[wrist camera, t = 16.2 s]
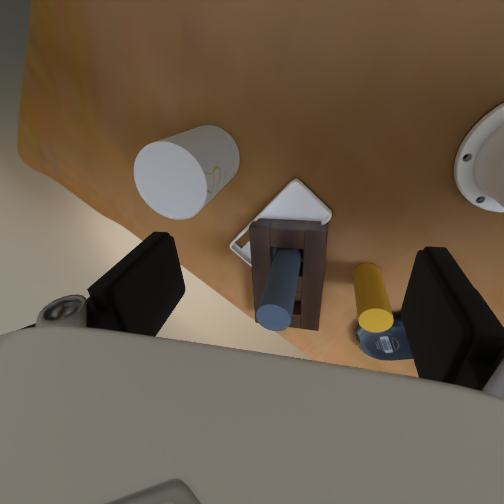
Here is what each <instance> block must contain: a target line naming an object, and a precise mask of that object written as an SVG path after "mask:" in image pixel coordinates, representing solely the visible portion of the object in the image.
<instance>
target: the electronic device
mask: <svg viewBox="0 0 504 504" xmlns="http://www.w3.org/2000/svg"><path fill="white" fill-rule="evenodd" d="M393 319H394V322H393V325H392V326H391V327H390V328H389V329H388V330H386V331H383V332H369V331H367V330H365V329H363V328H362V327H361V326H359V327H358V329H357V331H356V333H354V335H355V337H356V339H357V341H358V342H359V344H360V345H359V348H360V349H361V350H362V352H364V353H365V354H367V355H369V356H371V357H373V358H376V359H379V360H403V359H413V355H412V352H411V349H410V346H409V342H408V339H407V336H406V332H405V329H404V326H403V322H402V319H401V317H393Z"/></svg>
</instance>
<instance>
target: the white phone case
mask: <svg viewBox="0 0 504 504" xmlns="http://www.w3.org/2000/svg"><path fill="white" fill-rule="evenodd" d="M331 217H332V211H331V210H330V209H329V208H328V207H327V206H326V205H325V204H324V203H323V202H322V201H321V200H320V199H319V198H317V197H316V196H315V195H314V194H313V193H312V192H311V191H310V190H309V189H308V188H307V187H306V186H305V185H304V184H303V183H302V182H301V181H300V180H299V179H294V180H292V181H291V182H290V183H289V184H288V185H287V186H286V187H285V188H284V189H283V190H282V191H281V192H280V193H279V194H278V195H277V196H276V197H275V198H274V199H273V200H272V201H271V202H270V203H269V204H268V205H267V206H266V207H265V208H264V209H263V210H262V211H261V212H260V213H259V214H258V215H257V216H256V217H255V218H254V220H252V221H256V220H257V219H258V218H264V219H285V220H306V221H322V225H325V224H326V223H327V222H328V221H329V220H330V219H331ZM252 221H251V222H252ZM251 222H250V223H249V224H248V225H247V226H246V227H245V228H244V229H243V230H242V231H241V232H240V233H239V234H238V235H237V236H236V237H235V238H234V239H233V241H232V243H231V244H230V249H231V250H232V251H234V252H235V253H236V254H237V255H238V256H239V257H241V258H242V259H243V260H244V261H245V262H247V263H248V264H249V265H250V266H251V251H250V241H249V242H248V243H247V244H246V245H245V246H243V247H242V248H241V247H240V246H238V245H237V244H236V243H235V242H236V241H237V240H238V239H239V238H240V237H241V236H242V235H243V234H244V233H245V232H246V231H247V230H248V229H249V226H250V224H251ZM276 249H277V247H274V255H275V252H276ZM251 267H252V266H251Z"/></svg>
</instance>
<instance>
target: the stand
mask: <svg viewBox="0 0 504 504" xmlns="http://www.w3.org/2000/svg"><path fill="white" fill-rule="evenodd" d="M254 218H255V217H254ZM253 220H254V219H253ZM327 233H328V222H327V223H326V224H325V225H322V221H306V220H285V219H264V218H258V219H257V220H256V221H252V222H251V224H250V226H249V237H250V251H251V266H252V280H253V295H254V309H255V322H256V323H259V322H258V321H257V319H256V311H257V308H258V305H259V302H260V299H261V295H262V292H263V289H264V286H265V283H266V280H267V277H268V274H269V270H270V267H271V264H272V261H273V258H274V247H279V248H293V249H304V253H303V264H300V270H299V276H298V282H297V288H296V292H302V297H301V301H294V307H293V313H292V319H291V323H290V325H289V326H288V327H294V328H301V329H308V330H316V331H318V330H319V319H320V308H321V298H322V287H323V276H324V265H325V255H326V244H327Z"/></svg>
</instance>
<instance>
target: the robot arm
mask: <svg viewBox="0 0 504 504" xmlns="http://www.w3.org/2000/svg"><path fill="white" fill-rule="evenodd" d="M466 154H467V156H466V157H465V158H463V156H464V155H466ZM454 179H455V182H456V185H457V188H458V189H459V191H460V192H461V194H462V195H463V196H464V197H465V198H466V199H467V200H468V201H469V202H471V203H472V204H474V205H475V206H477V207H480V208H482V209H485V210H488V211H493V212H504V103H502V104H501V105H499V106H497V107H496V108H494V109H493V110H492V111H490V112H489V113H488V114H486V115H485V116H484V117H483V118H482V119H481V120H480V121H479V122H478V123H476V124H475V125H474V127H473V128H472V129H471V130H470V132H469V133H468V134H467V135H466V137H465V138H464V140H463V142H462V144H461V145H460V147H459V150H458V152H457V155H456V158H455V164H454ZM478 197H479V198H478ZM477 198H478V199H477ZM87 290H88V292H89V295H90V297H89V298H88V299H87V300H86V298H85V297H84V296H82V295H69V296H65V297H62V298H59V299H57V300H55V301H53V302H51V303H49V304H48V305H47V306H45V307H44V308H43V309H42V310H41V311H40V313H39V315H38V317H37V321H36V323H35V324H33V325H30V326H27V327H24V328H22V329H19V330H16V331H12V332H9V333H6V334H2V335H0V504H504V327H503V326H502V325H501V323H500V322H499V320H498V319H497V317H496V316H495V315H494V313H493V312H492V310H491V309H490V308H489V306H488V305H487V303H486V302H485V300H484V299H483V298H482V296H481V295H480V293H479V292H478V291H477V290H476V289H475V288H474V287H473V285H472V284H471V283H470V281H469V280H468V278H467V277H466V275H465V274H464V273H463V271H462V270H461V268H460V267H459V265H458V264H457V263H456V261H455V260H454V258H453V257H452V255H451V254H450V252H449V251H448V250H447V248H445V247H428V246H426V247H425V248H424V249H423V250H419V251H418V252H417V255H416V258H415V262H414V265H413V269H412V273H411V276H410V280H409V283H408V287H407V290H406V294H405V297H404V301H403V304H402V308H401V319H402V322H403V326H404V329H405V332H406V336H407V339H408V342H409V346H410V349H411V352H412V355H413V359H414V362H415V365H416V369H417V372H418V375H419V378H417V377H412V376H407V375H400V374H394V373H388V372H382V371H376V370H370V369H364V368H357V367H351V366H345V365H338V364H332V363H326V362H319V361H313V360H306V359H300V358H294V357H287V356H281V355H274V354H268V353H261V352H254V351H248V350H242V349H235V348H228V347H221V346H215V345H209V344H201V343H195V342H188V341H182V340H175V339H168V338H161V337H155V336H156V335H157V333H158V332H159V330H160V329H161V327H162V326H163V325H164V323H165V322H166V320H167V318H168V317H169V316H170V314H171V313H172V311H173V310H174V308H175V307H176V305H177V304H178V302H179V301H180V299H181V298H182V296H183V295H184V293H185V284H184V279H183V275H182V271H181V267H180V262H179V258H178V254H177V250H176V245H175V241H174V238H173V237H172V236H170V234H169V233H168V232H153V233H152V234H151V235H149V236H148V237H147V238H146V239H145V240H144V241H143V242H141V243H140V244H139V245H138V246H137V247H136V248H134V249H133V250H132V251H131V252H130V253H129V254H127V255H126V256H125V257H124V258H123V259H122V260H121V261H120V262H118V263H117V264H116V265H115V266H114V267H112V268H111V269H110V270H109V271H108V272H107V273H106V274H104V275H103V276H102V277H101V278H100V279H99V280H97V281H96V282H95V283H94V284H93V285H92V286H90V287H89V288H88V289H87Z"/></svg>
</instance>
